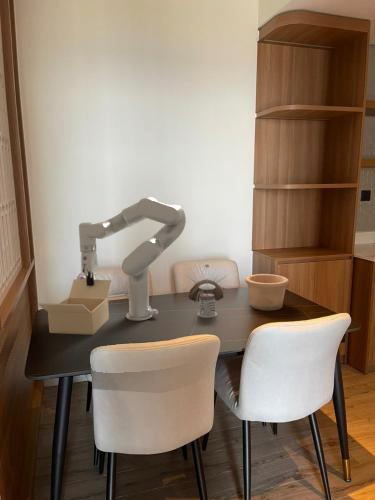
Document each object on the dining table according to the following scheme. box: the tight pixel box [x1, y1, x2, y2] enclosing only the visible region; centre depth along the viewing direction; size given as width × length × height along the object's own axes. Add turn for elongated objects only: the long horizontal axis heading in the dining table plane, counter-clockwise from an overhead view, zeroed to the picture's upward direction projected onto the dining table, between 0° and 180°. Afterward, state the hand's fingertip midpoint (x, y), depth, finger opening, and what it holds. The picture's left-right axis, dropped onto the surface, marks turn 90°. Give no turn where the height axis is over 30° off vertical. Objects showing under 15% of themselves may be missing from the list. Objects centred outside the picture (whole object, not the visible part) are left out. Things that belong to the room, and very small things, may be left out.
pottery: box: [244, 273, 290, 311], centre depth 198 cm, size 22×22×14 cm
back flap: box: [68, 278, 112, 298], centre depth 185 cm, size 19×10×1 cm
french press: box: [196, 264, 218, 318], centre depth 184 cm, size 10×12×25 cm
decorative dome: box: [189, 279, 224, 302], centre depth 216 cm, size 19×20×10 cm
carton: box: [47, 297, 110, 335], centre depth 173 cm, size 20×20×10 cm
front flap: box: [37, 302, 91, 313], centre depth 158 cm, size 19×10×1 cm
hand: (90, 285), depth 185 cm, fingers closed
